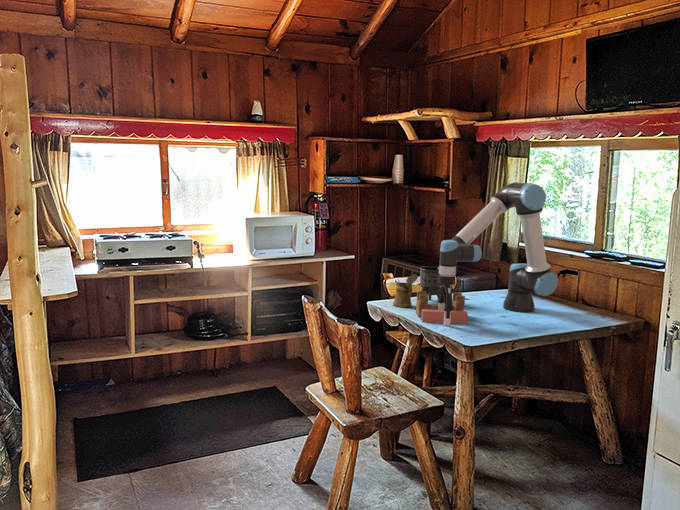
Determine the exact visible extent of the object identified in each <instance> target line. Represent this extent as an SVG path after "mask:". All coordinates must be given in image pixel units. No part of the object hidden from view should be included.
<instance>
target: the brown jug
mask: <svg viewBox="0 0 680 510" xmlns="http://www.w3.org/2000/svg"><path fill="white" fill-rule="evenodd" d="M418 278H419V275H418V274H417V273H413V274H411V275H409V276H408V277H407V278H406V282H397V285H396V287H395V289H396V290H395V295H394V298H393V299H394V300H393V302H392V306H393V307H396V308H402V309H405V308H406V309H407V308H411V307H412V305H413V304H412V300H411V299H412V298H411V297H412V294H413V284H414V283H415V282H416V281H417V280H418Z"/></svg>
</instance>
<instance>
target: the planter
mask: <svg viewBox="0 0 680 510" xmlns="http://www.w3.org/2000/svg"><path fill="white" fill-rule="evenodd" d="M438 267H439V266H432V265H431V266H429V265H428V266H425V265H424V266H421V267H420V268H419V269H420V271H419V286H420V288H421V291H420V292H426V295H428V301H432V295H433V293H434V294H435V296H436V297H437V298H438V295H439V290H440V284H439V283H438V276H439V275H440V274H439V269H438Z"/></svg>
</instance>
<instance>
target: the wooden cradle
mask: <svg viewBox="0 0 680 510" xmlns="http://www.w3.org/2000/svg"><path fill="white" fill-rule="evenodd" d="M428 298H429V294H427V295H426V292H421V291H418V290H417V291H416V302H415V303H416V305H415V307H416V308H415V314H416V316H417V317H418V318H421V311H422V309H427V310H438V304H429V300H428ZM465 301H466V295H463V294H462V292H452V309H453V310H459V311H465V306H466V305H465ZM444 309H445V305H444Z"/></svg>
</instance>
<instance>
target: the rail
mask: <svg viewBox="0 0 680 510" xmlns="http://www.w3.org/2000/svg"><path fill="white" fill-rule="evenodd" d="M444 312H445V311H444V310H427V309H422V311H421V317H420V321H421V320H422V321H421V322H422V323H440V324H444ZM467 323H468V311H466V310H464V311H459V310H452V311H451V319H450V324H467Z"/></svg>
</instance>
